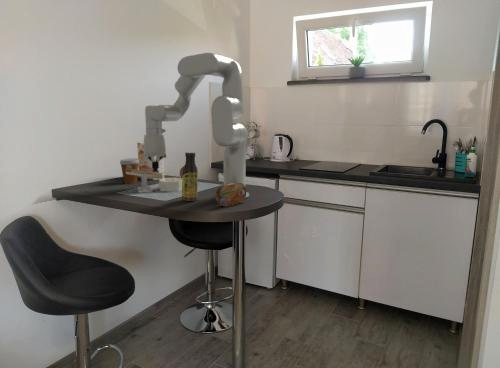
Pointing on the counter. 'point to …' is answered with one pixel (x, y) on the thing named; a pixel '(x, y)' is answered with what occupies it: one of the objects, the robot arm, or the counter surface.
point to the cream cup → (170, 184)
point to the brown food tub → (134, 165)
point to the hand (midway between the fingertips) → (155, 169)
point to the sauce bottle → (189, 178)
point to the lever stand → (144, 185)
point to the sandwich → (230, 194)
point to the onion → (182, 171)
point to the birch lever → (143, 172)
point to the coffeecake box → (148, 162)
